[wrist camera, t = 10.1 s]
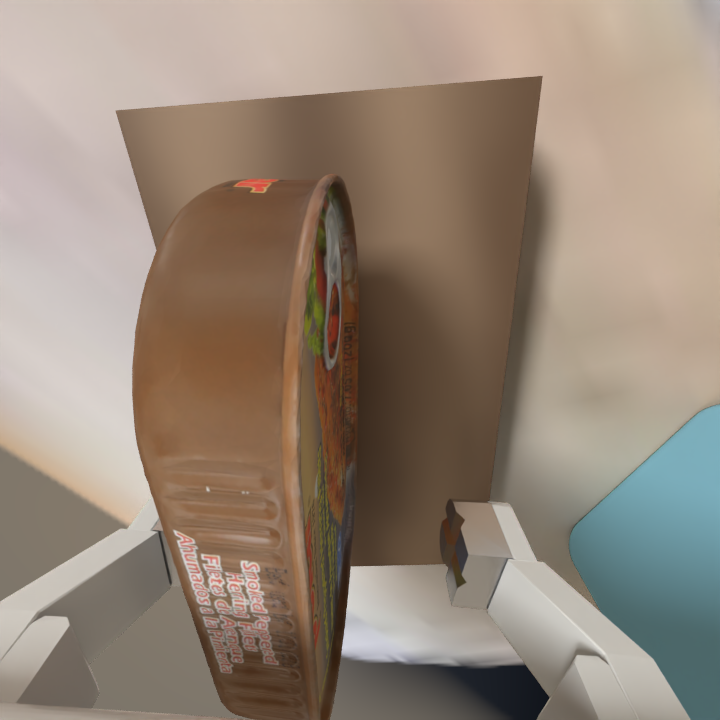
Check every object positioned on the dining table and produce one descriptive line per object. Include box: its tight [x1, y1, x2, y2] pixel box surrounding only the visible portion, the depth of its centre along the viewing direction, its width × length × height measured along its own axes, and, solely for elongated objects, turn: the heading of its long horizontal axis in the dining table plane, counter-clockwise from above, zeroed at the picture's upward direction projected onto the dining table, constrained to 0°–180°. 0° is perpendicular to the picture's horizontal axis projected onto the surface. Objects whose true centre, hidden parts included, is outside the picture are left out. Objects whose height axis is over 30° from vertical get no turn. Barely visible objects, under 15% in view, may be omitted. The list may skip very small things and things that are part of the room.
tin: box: [132, 174, 359, 720], centre depth 10 cm, size 15×3×8 cm, turn 179°
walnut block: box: [116, 76, 542, 566], centre depth 16 cm, size 12×20×4 cm, turn 3°
